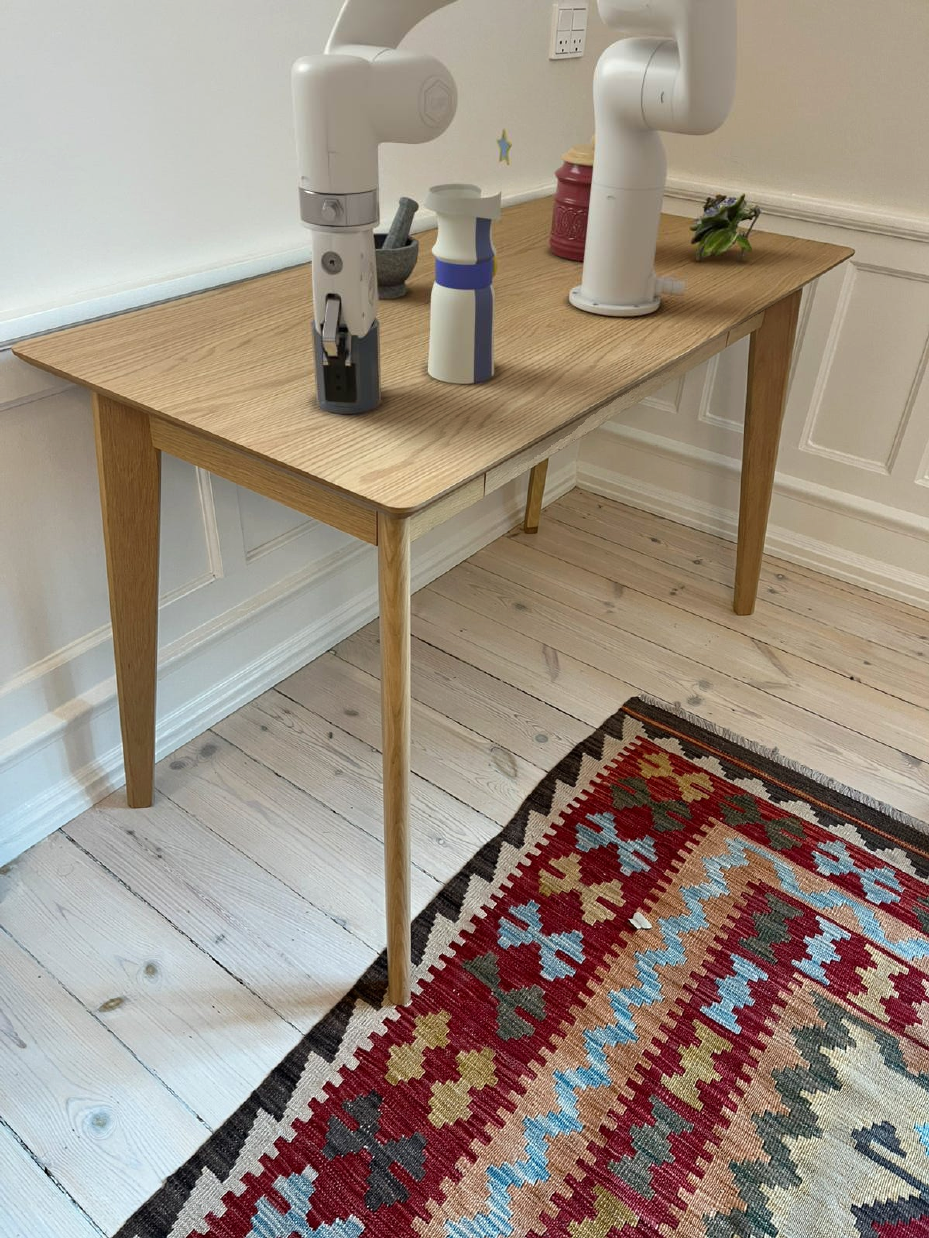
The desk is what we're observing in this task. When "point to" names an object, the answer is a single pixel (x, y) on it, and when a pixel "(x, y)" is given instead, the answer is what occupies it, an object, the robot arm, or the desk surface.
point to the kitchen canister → (572, 202)
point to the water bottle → (463, 281)
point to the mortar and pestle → (396, 252)
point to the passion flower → (722, 226)
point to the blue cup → (366, 371)
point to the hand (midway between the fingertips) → (348, 386)
